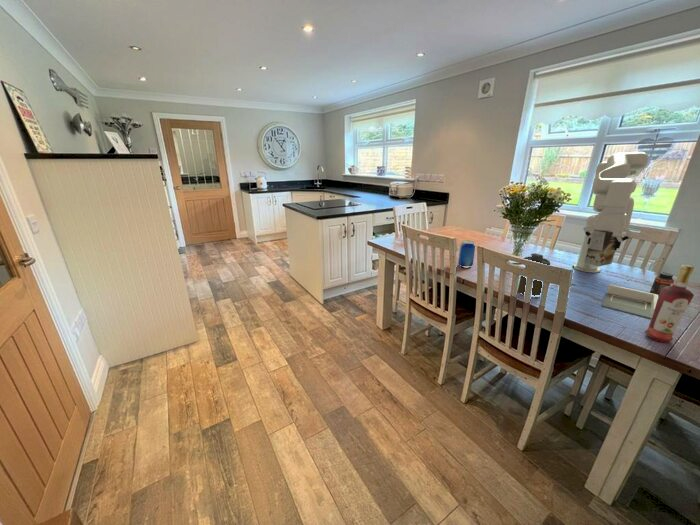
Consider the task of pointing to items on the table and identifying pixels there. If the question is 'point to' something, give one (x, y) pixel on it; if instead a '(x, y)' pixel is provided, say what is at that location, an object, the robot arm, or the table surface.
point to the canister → (536, 284)
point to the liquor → (670, 307)
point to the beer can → (466, 253)
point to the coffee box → (601, 248)
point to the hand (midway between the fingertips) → (602, 247)
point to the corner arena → (630, 301)
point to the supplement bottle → (661, 282)
